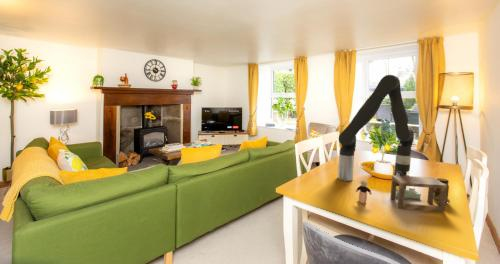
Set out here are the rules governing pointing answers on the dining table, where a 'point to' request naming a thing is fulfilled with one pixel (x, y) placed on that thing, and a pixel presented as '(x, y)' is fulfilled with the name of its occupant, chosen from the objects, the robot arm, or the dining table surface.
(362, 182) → the grandmother figurine
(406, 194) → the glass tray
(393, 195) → the brown wooden side table
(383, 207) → the dining table surface
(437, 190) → the condiment
